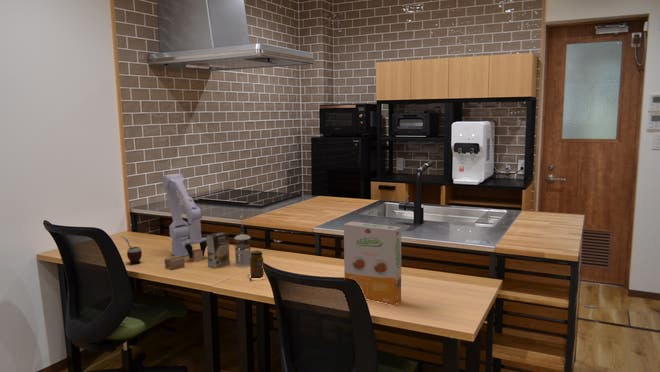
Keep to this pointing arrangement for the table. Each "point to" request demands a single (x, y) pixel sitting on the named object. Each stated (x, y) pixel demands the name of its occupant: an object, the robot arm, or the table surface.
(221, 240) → the coffee box
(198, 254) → the block
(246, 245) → the french press
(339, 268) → the table surface
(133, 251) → the mate gourd
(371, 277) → the cereal box
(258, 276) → the condiment
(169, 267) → the tower base
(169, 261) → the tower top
